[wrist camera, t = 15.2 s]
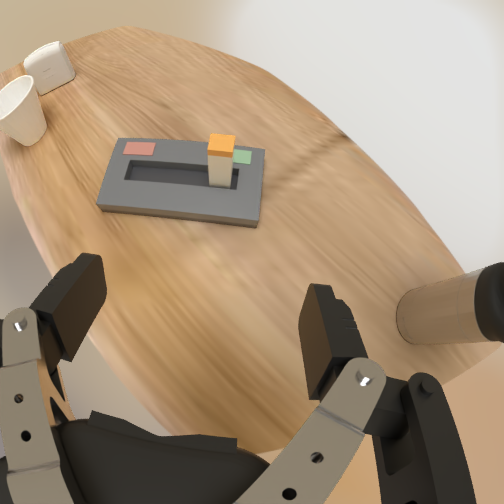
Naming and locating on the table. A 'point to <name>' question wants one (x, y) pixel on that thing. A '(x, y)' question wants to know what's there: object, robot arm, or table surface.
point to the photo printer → (49, 67)
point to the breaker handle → (220, 160)
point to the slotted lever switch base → (180, 182)
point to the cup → (22, 111)
